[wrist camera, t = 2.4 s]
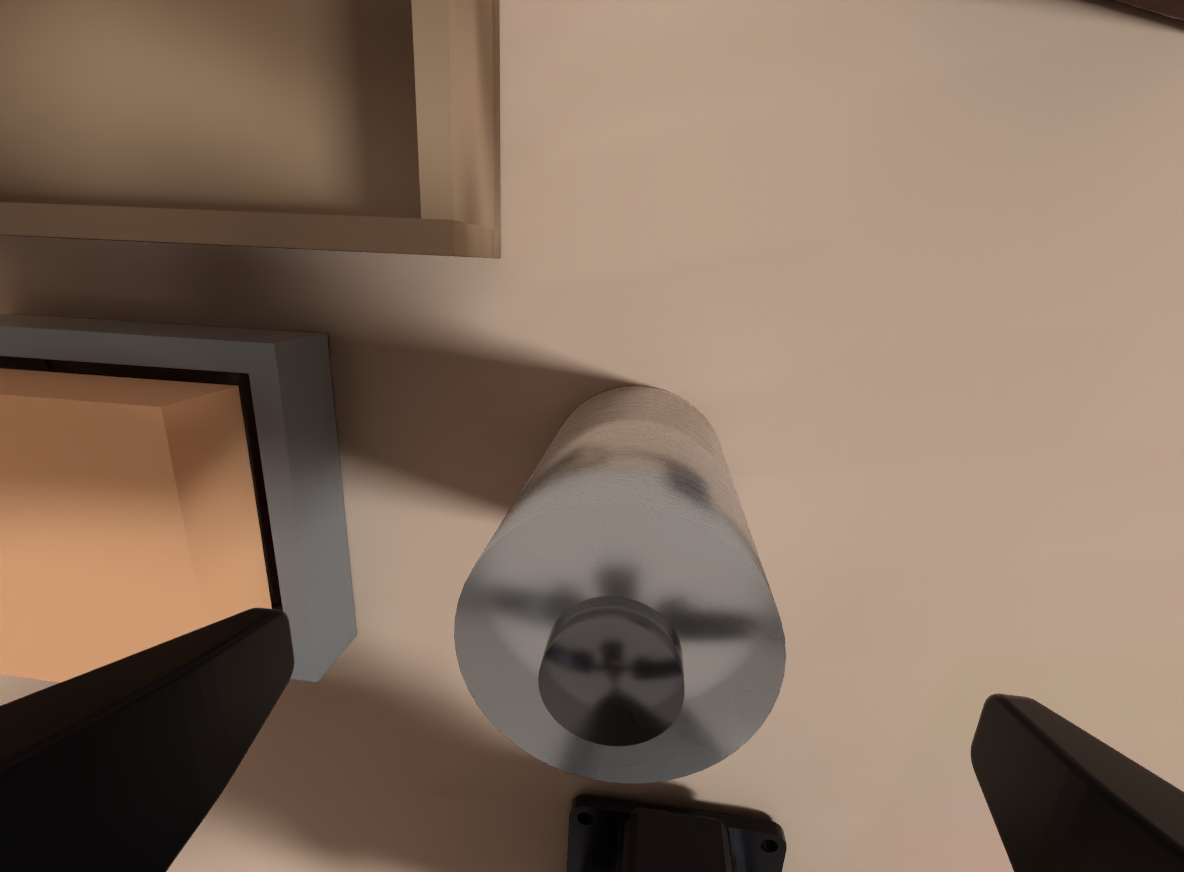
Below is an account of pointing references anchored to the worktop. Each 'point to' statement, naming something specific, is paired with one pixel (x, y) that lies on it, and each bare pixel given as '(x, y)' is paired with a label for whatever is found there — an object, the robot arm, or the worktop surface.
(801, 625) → the worktop surface
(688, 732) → the cylinder
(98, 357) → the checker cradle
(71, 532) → the pad
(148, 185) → the tray
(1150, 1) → the box
